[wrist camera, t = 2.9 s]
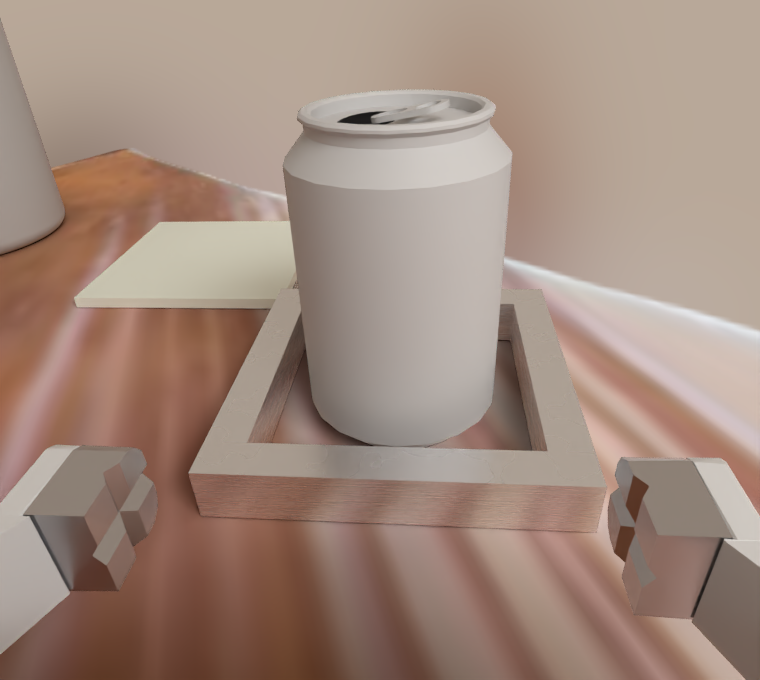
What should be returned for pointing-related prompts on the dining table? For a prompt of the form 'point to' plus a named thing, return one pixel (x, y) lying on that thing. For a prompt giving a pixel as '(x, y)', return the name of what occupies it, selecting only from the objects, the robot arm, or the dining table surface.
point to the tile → (199, 267)
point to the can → (399, 260)
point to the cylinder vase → (22, 165)
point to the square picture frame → (404, 464)
